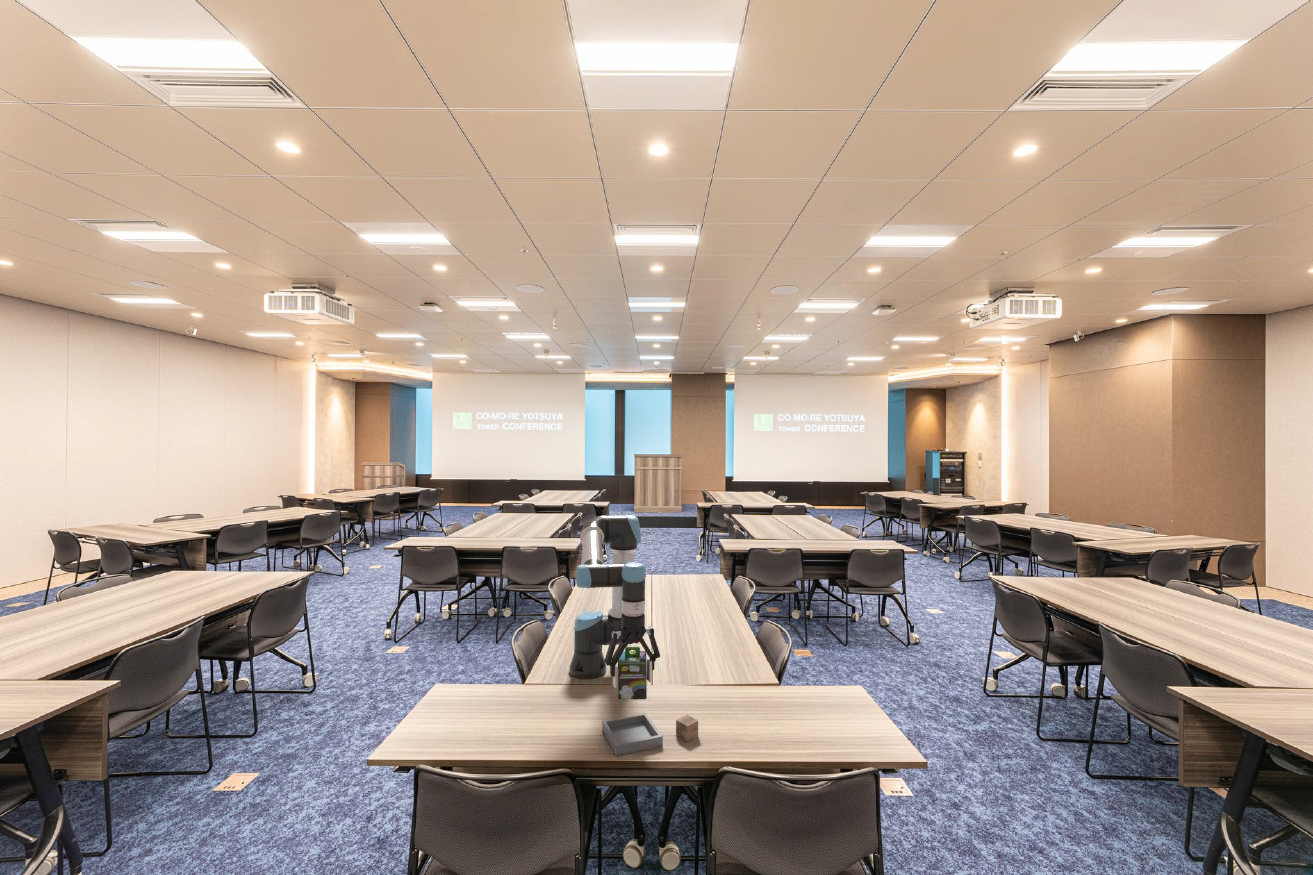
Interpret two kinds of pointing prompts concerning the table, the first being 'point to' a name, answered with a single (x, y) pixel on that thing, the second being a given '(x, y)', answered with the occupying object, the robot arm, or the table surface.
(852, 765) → the table surface
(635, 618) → the robot arm
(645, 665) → the chalk box
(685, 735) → the walnut block
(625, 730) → the tray
